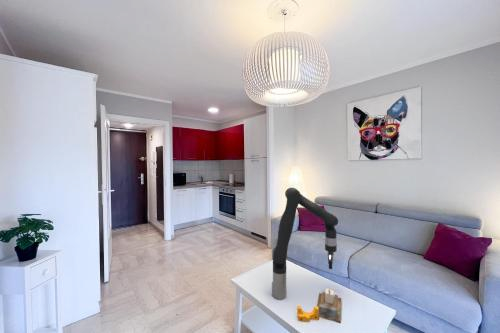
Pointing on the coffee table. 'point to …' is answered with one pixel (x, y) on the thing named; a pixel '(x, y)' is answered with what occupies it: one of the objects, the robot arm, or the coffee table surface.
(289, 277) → the coffee table surface
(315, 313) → the pipe clamp
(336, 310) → the gauge board
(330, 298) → the white cube with stick
